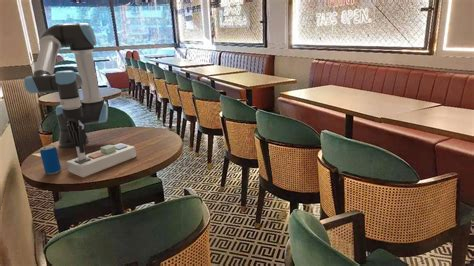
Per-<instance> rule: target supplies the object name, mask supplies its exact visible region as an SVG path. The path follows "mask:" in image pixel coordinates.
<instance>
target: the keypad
mask: <svg viewBox="0 0 474 266" xmlns="http://www.w3.org/2000/svg"><path fill="white" fill-rule="evenodd" d="M121 144H122V145H126V146H127V148H124V149H121V150H116V151H115V152H113V153H110V154H107V155H106V154H103V153H101V149H99V150H96V151H93V152H90V153H87V154H85V155H86V157H87V158H89V157H88V156H89V155H92V154H95V153H97V152H98V153H101V154H103V155H104V156H102V157H99V158H96V159H92V158H89V159H91V160H90V161H88V162H85V163H82V164H78V163H76V162H75V160H77V159H78V157H76V158H72V159H69V160H67V161H66V164H67V169H68V172H69V173H71V174H73V175H76V176H79V177H81V178H85V177H88V176H90V175H93V174H96V173H98V172H100V171H103V170H106V169H108V168H111V167H113V166H116V165H118V164H121V163H123V162H126V161H129V160H131V159H134V158H135V157H137V152H136V151H137V150H136V147H135V146H133V145H129V144H125V143H121V142H120V143H119V142H118V143H117V144H114V145H113V144H112V145H113V146H118V145H121Z"/></svg>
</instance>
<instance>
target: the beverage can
mask: <svg viewBox="0 0 474 266" xmlns="http://www.w3.org/2000/svg"><path fill="white" fill-rule="evenodd" d="M39 153H40V157H41V161H42V165H43V169H44V173H45V174H47V175H56V174H57V173H60V171H61V170H62V167H61V166H62V165H61V162H60V158H59V153H58V149H57V147H56V145H53V144H49V145H45V146H42V147H40V151H39Z"/></svg>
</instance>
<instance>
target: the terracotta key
mask: <svg viewBox="0 0 474 266" xmlns="http://www.w3.org/2000/svg"><path fill="white" fill-rule="evenodd" d="M102 156H104V155H103V154H101V153H98V152H97V153H95V154H92V155H89V156H88V157H89V158H92V159H96V158H99V157H102Z"/></svg>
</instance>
